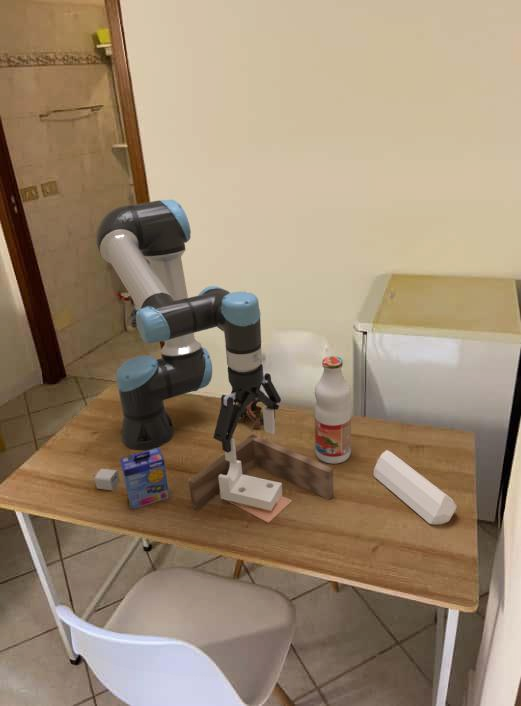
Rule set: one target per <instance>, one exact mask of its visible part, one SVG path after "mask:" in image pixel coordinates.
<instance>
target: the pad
mask: <svg viewBox="0 0 521 706" xmlns="http://www.w3.org/2000/svg"><path fill="white" fill-rule="evenodd" d="M223 500H224V501H226V502H228V503H230V504H232V505H234V506H236V507H237V508H239V509H241V510H243V511H245V512H246V513H248V514H250V515H252V516H254V517H256V518H258V519H260V520H261V521H263V522H265V523H267V524H270V523H271V522H272V521H273V520H274V519H275V518H276V517H277V516H278V515H279V514H280V513H282V512H283V511H284V510H285V509H286V508H287V507H289V505H291V503H292V502H293V500H291V499H290V498H287V497H285V496H283V495H282V496H281V498H280V500H279V501H278V503H277V504H275V505H274V507H273V508H272V510H271V511H270V510H266V509H261V508H257V507H253V506H249V505H245V504H241V503H237V502H233V501H229V500H225V499H223Z"/></svg>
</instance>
